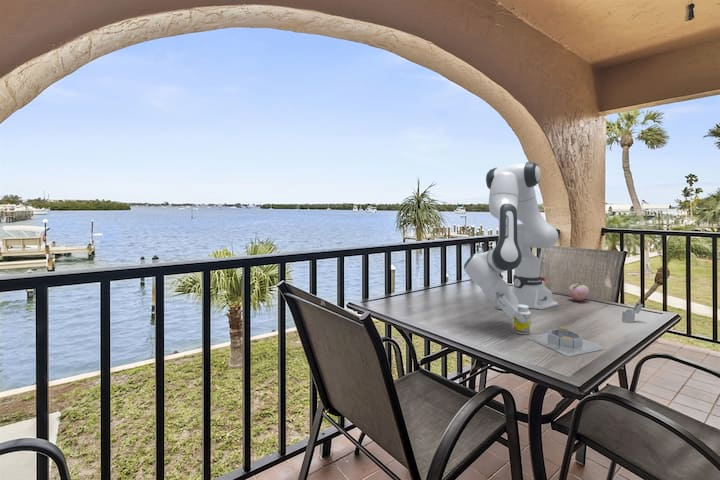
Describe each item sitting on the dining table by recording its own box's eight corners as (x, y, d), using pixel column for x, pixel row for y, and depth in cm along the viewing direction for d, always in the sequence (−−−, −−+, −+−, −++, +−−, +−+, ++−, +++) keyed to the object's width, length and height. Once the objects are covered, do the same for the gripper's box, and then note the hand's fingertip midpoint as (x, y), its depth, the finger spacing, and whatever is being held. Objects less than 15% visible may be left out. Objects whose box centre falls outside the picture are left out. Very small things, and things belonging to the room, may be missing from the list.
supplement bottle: (516, 328, 137) (517, 302, 136) (531, 331, 133) (532, 305, 132) (511, 332, 132) (512, 306, 131) (527, 335, 129) (528, 308, 128)
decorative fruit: (574, 298, 181) (575, 279, 180) (591, 301, 174) (592, 282, 173) (564, 300, 176) (565, 281, 175) (581, 304, 169) (582, 284, 168)
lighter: (624, 322, 144) (626, 303, 143) (621, 321, 145) (623, 302, 145) (641, 322, 144) (643, 303, 143) (638, 321, 146) (640, 302, 145)
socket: (560, 333, 132) (561, 322, 131) (603, 349, 117) (604, 337, 116) (528, 338, 126) (528, 327, 126) (568, 356, 111) (569, 344, 111)
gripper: (502, 291, 124) (532, 321, 121) (504, 280, 143) (530, 306, 140) (489, 302, 127) (517, 332, 124) (492, 289, 145) (517, 315, 142)
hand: (524, 318), depth 132 cm, fingers closed on supplement bottle, 6 cm apart
